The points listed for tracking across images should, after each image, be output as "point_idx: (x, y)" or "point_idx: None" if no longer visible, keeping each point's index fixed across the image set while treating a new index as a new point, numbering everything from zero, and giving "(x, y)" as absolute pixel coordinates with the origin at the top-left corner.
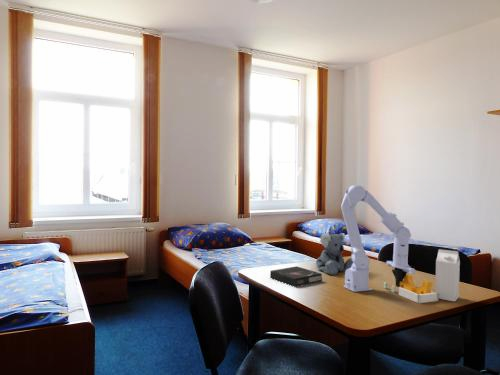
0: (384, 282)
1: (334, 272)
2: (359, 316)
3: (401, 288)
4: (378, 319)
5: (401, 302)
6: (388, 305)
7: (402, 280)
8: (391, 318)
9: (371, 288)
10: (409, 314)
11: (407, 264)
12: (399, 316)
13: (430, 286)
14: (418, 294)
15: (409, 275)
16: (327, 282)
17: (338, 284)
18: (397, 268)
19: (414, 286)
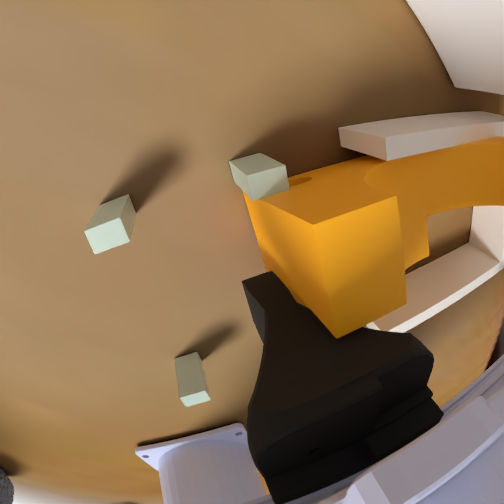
0: (193, 403)
1: (4, 480)
2: None
3: (404, 331)
4: (465, 386)
5: (437, 322)
6: (432, 369)
7: (297, 307)
8: (478, 363)
9: (232, 431)
10: (493, 319)
11: (459, 469)
12: (484, 346)
13: None
14: (498, 265)
15: (402, 273)
16: (124, 500)
17: (144, 488)
18: (345, 487)
19: (389, 187)
